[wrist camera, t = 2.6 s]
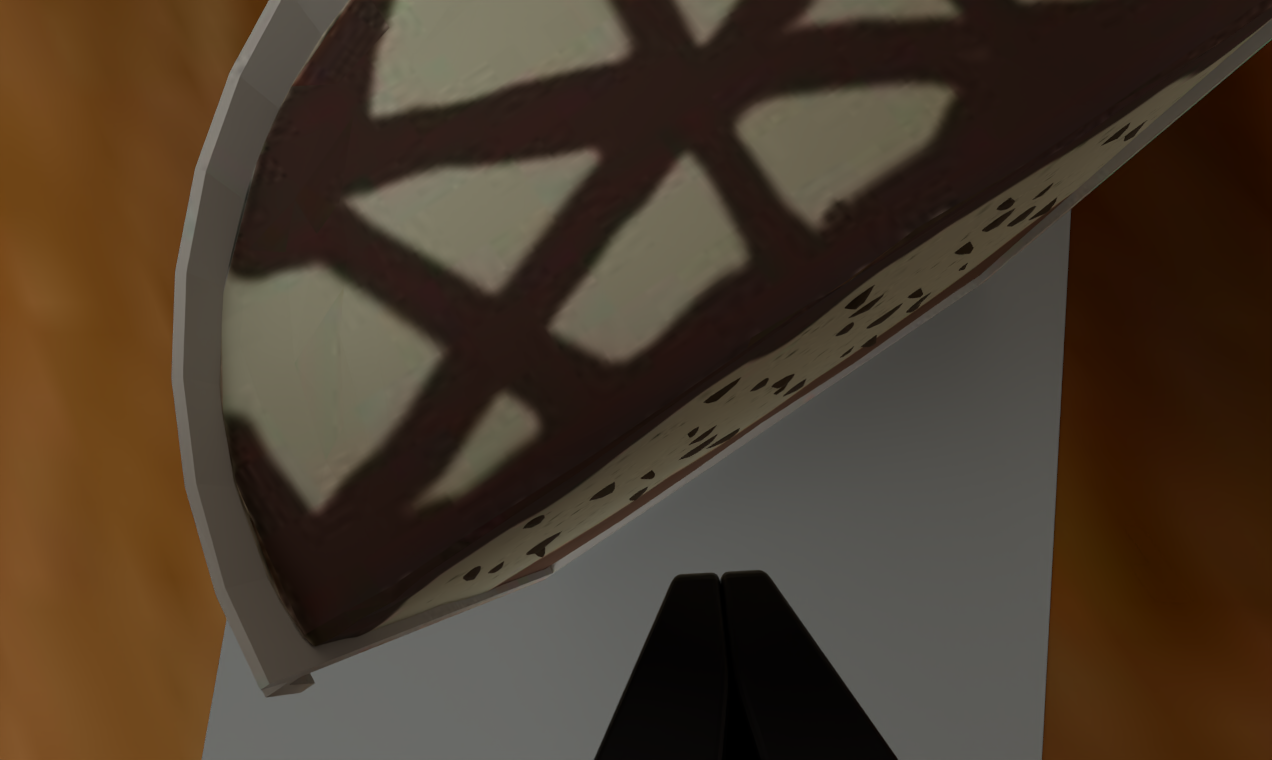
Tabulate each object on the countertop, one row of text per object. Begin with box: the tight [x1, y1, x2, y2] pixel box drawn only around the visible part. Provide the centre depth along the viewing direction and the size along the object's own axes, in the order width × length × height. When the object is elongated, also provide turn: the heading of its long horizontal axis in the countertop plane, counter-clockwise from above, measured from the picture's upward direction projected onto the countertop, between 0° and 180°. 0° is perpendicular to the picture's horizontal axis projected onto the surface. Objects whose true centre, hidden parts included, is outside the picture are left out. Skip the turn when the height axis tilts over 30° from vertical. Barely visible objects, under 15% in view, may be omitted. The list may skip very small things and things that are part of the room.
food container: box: [172, 0, 1272, 698], centre depth 13 cm, size 12×6×10 cm, turn 124°
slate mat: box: [202, 209, 1071, 760], centre depth 18 cm, size 15×14×1 cm
